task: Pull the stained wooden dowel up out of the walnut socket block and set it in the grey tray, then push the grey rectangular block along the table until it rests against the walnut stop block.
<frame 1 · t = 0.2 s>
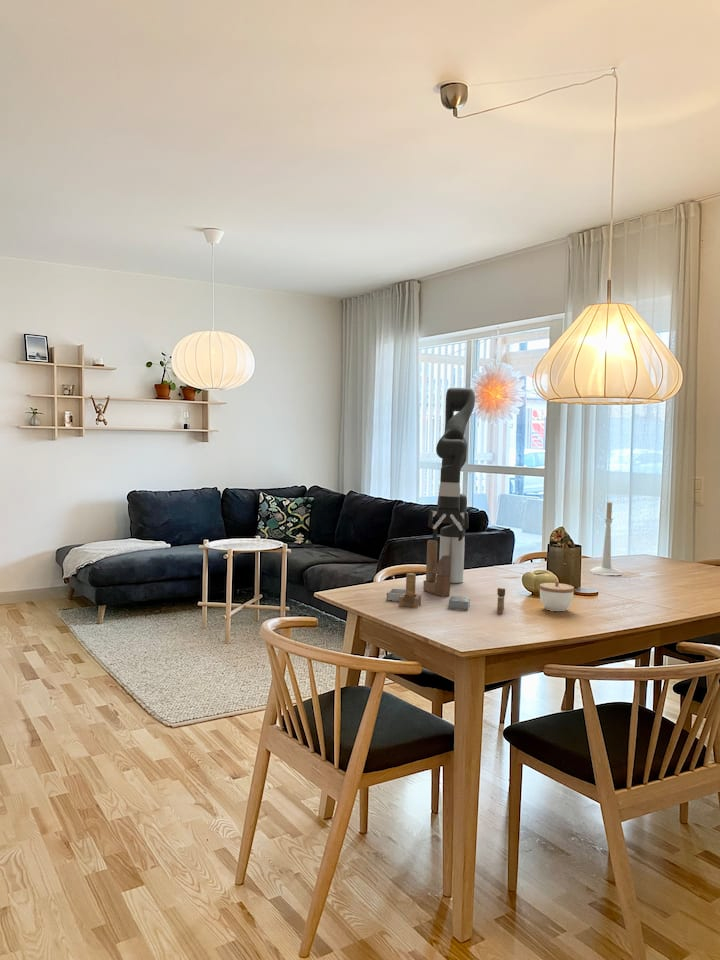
hand: (447, 540, 267), 17 cm above the table, tool pointing down, fingers open, 8 cm apart
tan angled wooden part: (436, 594, 259), on the table
grey rectangular block: (459, 608, 239), on the table
lidded jar: (555, 610, 240), on the table
stop block: (500, 610, 236), on the table
socket block: (410, 604, 240), on the table
tray: (399, 598, 249), on the table
dowel: (410, 605, 240), resting in socket block
candlestick: (605, 573, 310), on the table
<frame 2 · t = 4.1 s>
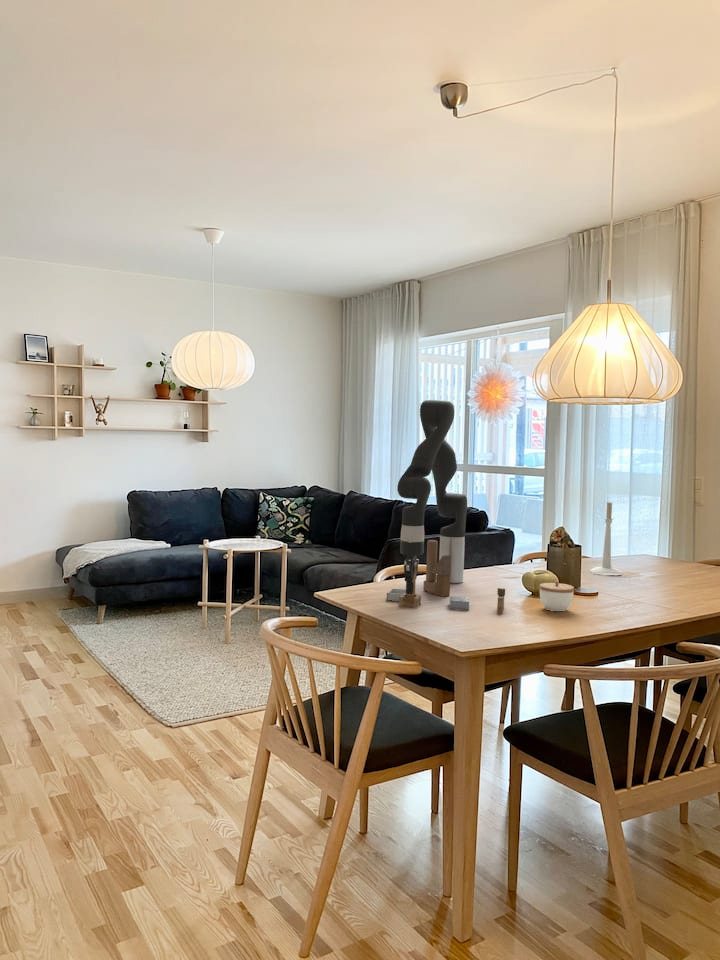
hand: (410, 592, 240), 4 cm above the table, tool pointing down, fingers closed on dowel, 3 cm apart
dowel: (410, 604, 240), resting in socket block, touching gripper
everything else where it was.
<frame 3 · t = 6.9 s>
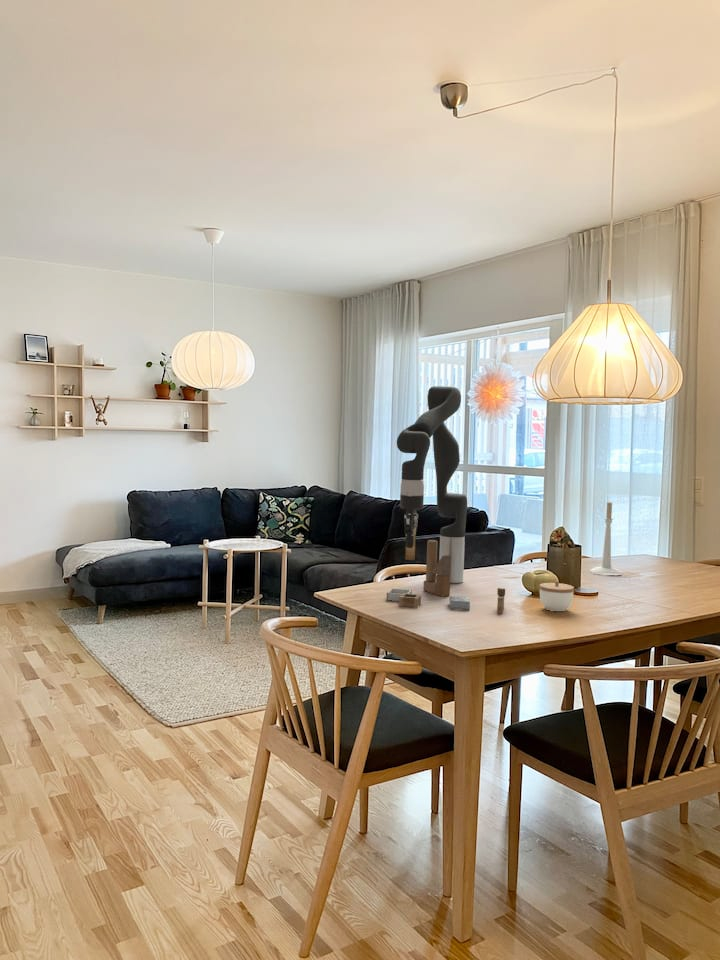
hand: (410, 546, 242), 19 cm above the table, tool pointing down, fingers closed on dowel, 3 cm apart
dowel: (410, 559, 242), point 14 cm above the table, touching gripper
everything else where it was.
when the fingers open (6 cm above the table, at t = 10.1 s): dowel drops 1 cm, resting on tray.
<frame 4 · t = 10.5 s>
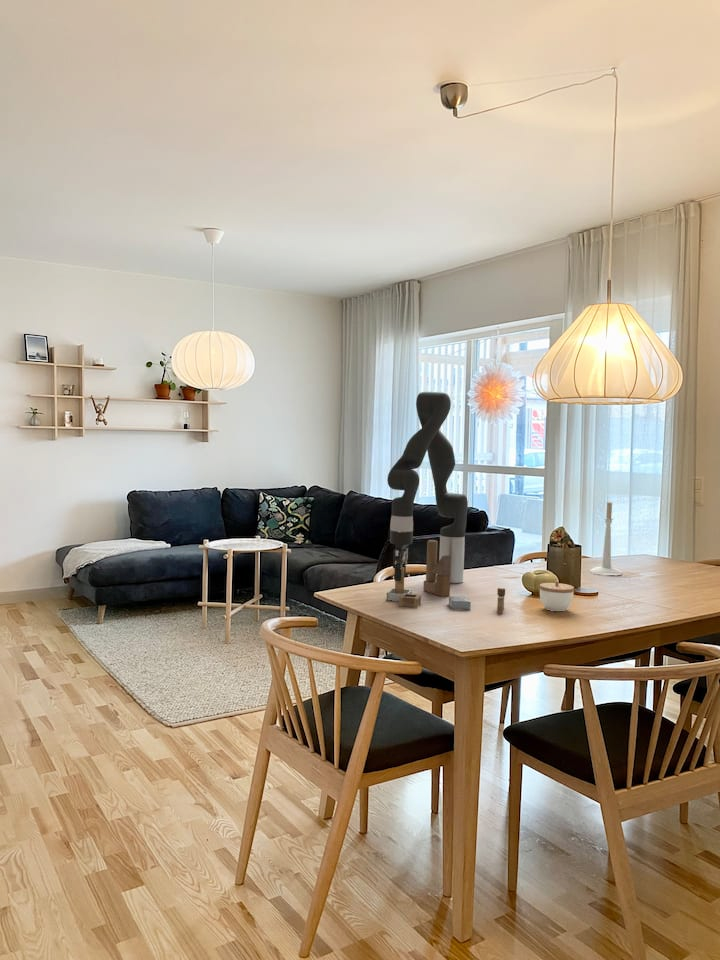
hand: (399, 578, 248), 7 cm above the table, tool pointing down, fingers open, 7 cm apart
dowel: (399, 597, 249), point 1 cm above the table, touching tray
everything else where it was.
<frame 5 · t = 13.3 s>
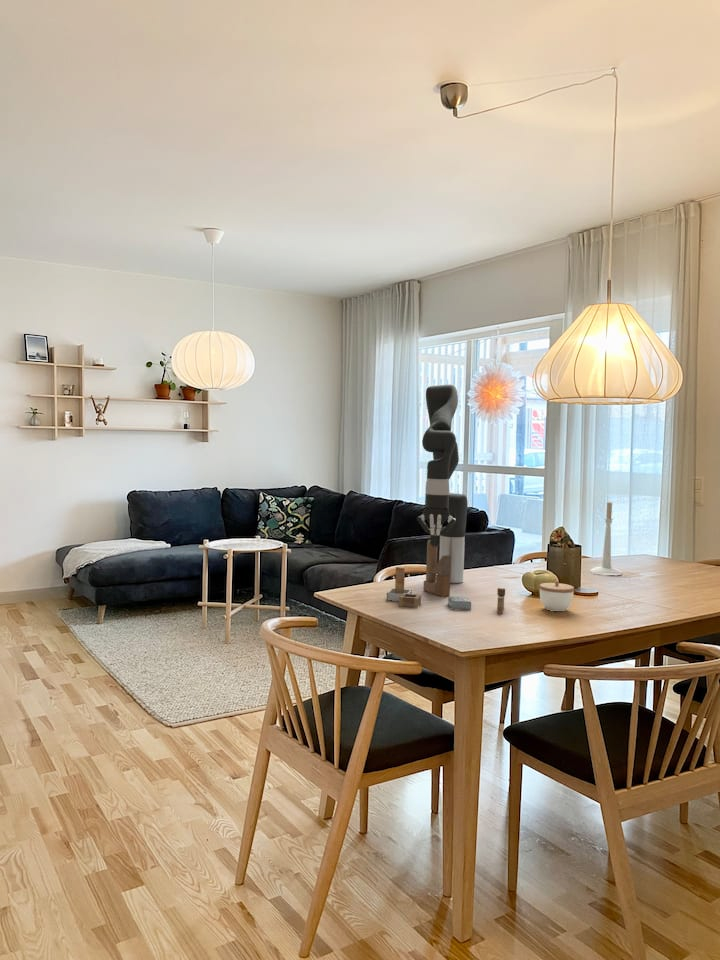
hand: (435, 546, 240), 19 cm above the table, tool pointing down, fingers closed
nothing on the table moved.
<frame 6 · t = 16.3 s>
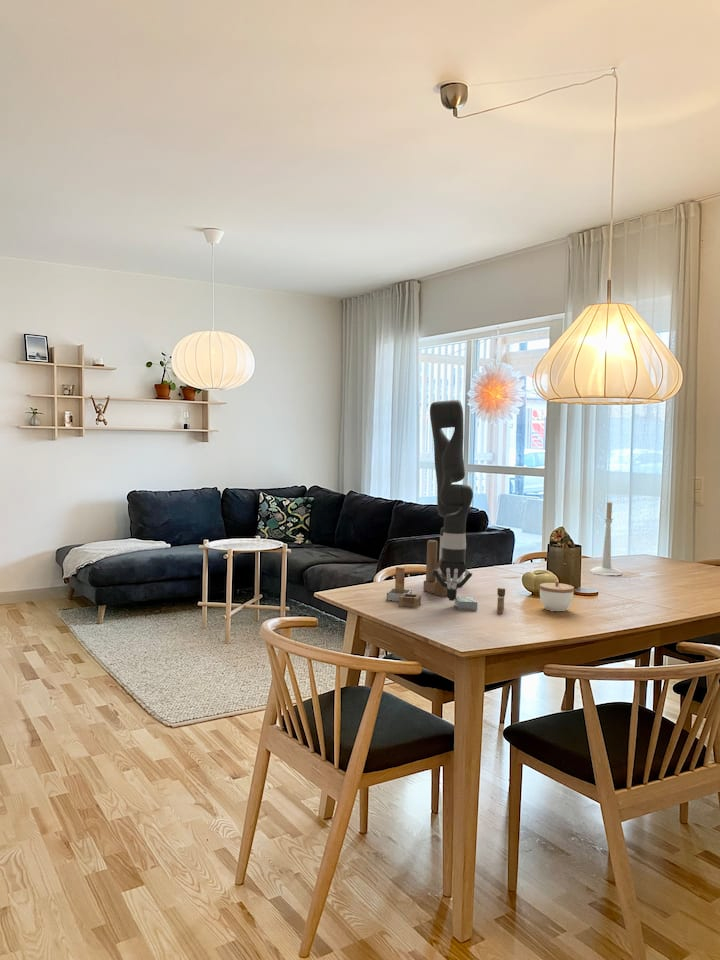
hand: (451, 600, 240), 2 cm above the table, tool pointing down, fingers closed
grey rectangular block: (465, 608, 239), on the table
everything else where it was.
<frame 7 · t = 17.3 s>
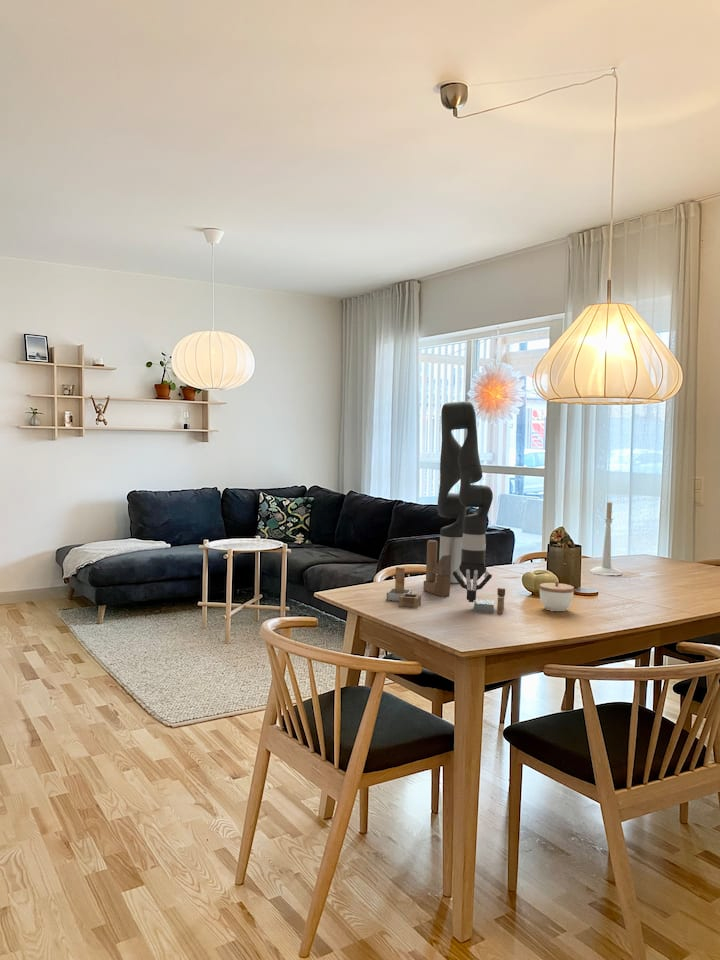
hand: (471, 601, 238), 2 cm above the table, tool pointing down, fingers closed
grey rectangular block: (483, 611, 237), on the table, touching gripper
everything else where it was.
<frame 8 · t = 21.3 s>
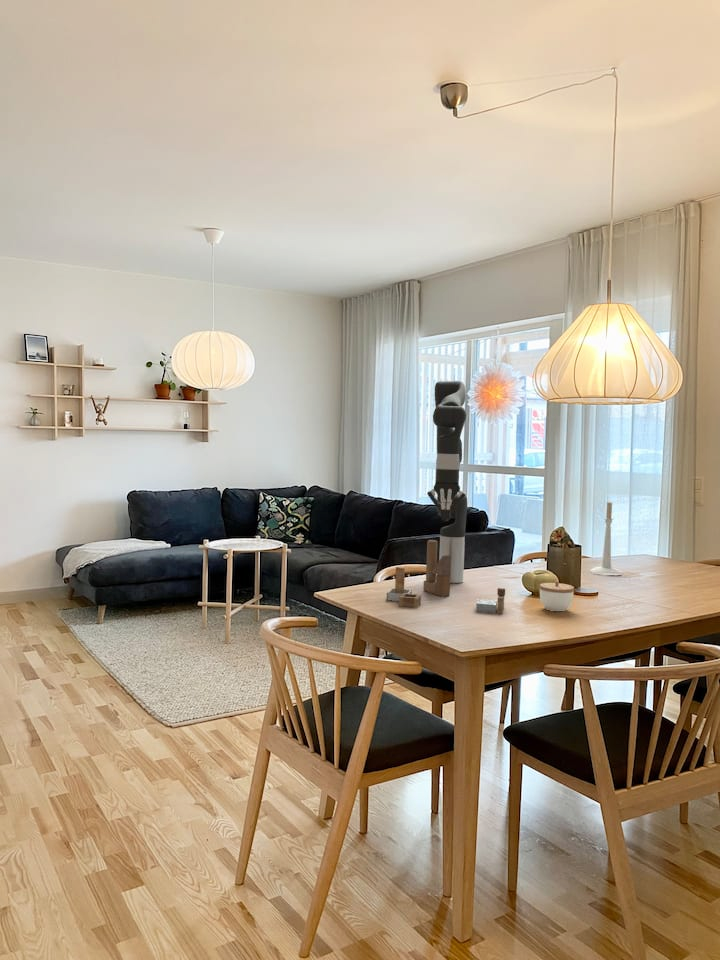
hand: (445, 520, 243), 27 cm above the table, tool pointing down, fingers closed
grey rectangular block: (486, 611, 236), on the table
everything else where it was.
at the end: grey rectangular block inside the target area (1.0 cm from its centre), on the table; dowel inside the target area on the tray (0.1 cm from its centre), point 0.5 cm above the tray's base; the gripper is holding nothing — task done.
